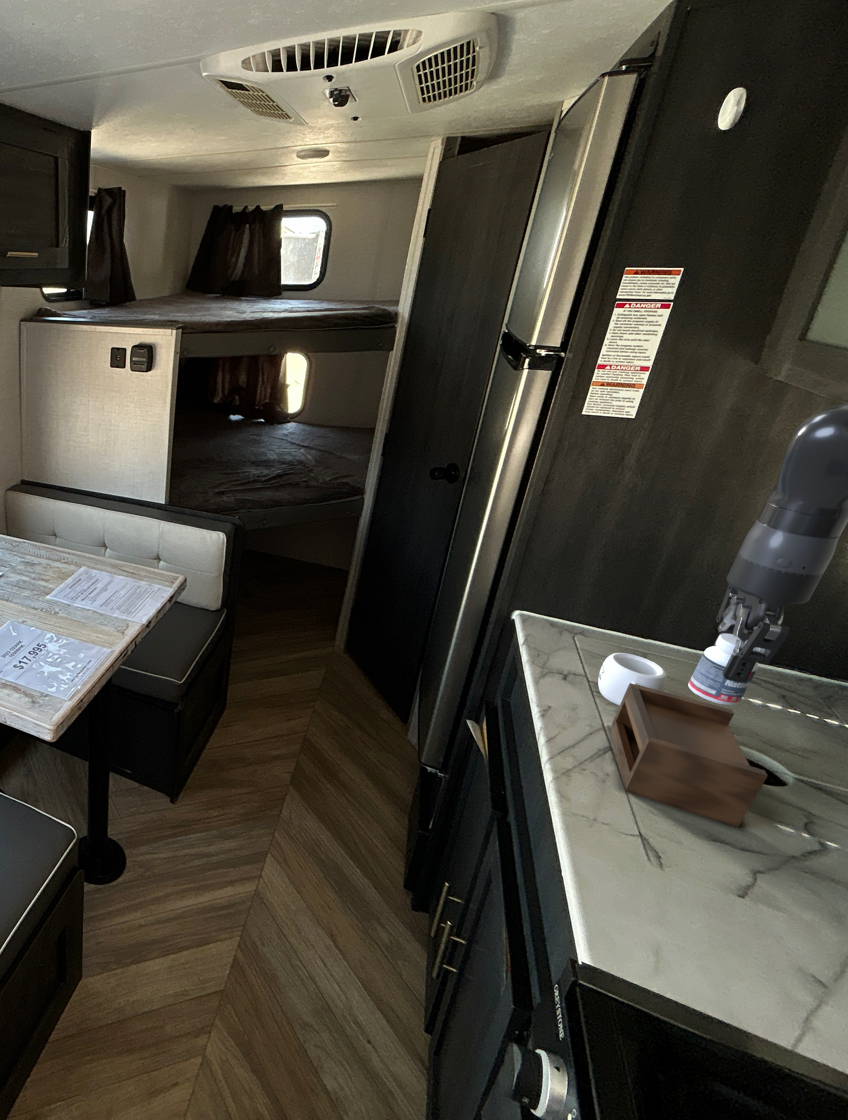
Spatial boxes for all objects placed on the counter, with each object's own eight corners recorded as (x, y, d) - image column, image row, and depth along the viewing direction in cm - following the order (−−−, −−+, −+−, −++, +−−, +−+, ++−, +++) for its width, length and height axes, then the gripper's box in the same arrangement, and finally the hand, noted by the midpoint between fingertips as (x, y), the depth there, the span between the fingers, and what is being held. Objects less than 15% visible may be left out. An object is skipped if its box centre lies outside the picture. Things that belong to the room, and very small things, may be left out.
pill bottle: (718, 708, 86) (746, 654, 83) (677, 684, 91) (702, 632, 88) (749, 704, 87) (778, 650, 84) (707, 681, 92) (733, 629, 88)
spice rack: (705, 760, 100) (731, 709, 96) (736, 831, 87) (767, 776, 83) (608, 731, 106) (629, 682, 102) (624, 793, 93) (648, 740, 89)
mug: (592, 680, 119) (607, 644, 116) (652, 699, 114) (669, 662, 111) (590, 712, 110) (605, 675, 107) (654, 734, 105) (672, 695, 102)
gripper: (849, 589, 73) (783, 706, 80) (801, 546, 85) (747, 652, 91) (759, 573, 77) (703, 686, 84) (724, 534, 88) (677, 636, 95)
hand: (726, 668), depth 87 cm, fingers closed on pill bottle, 5 cm apart
